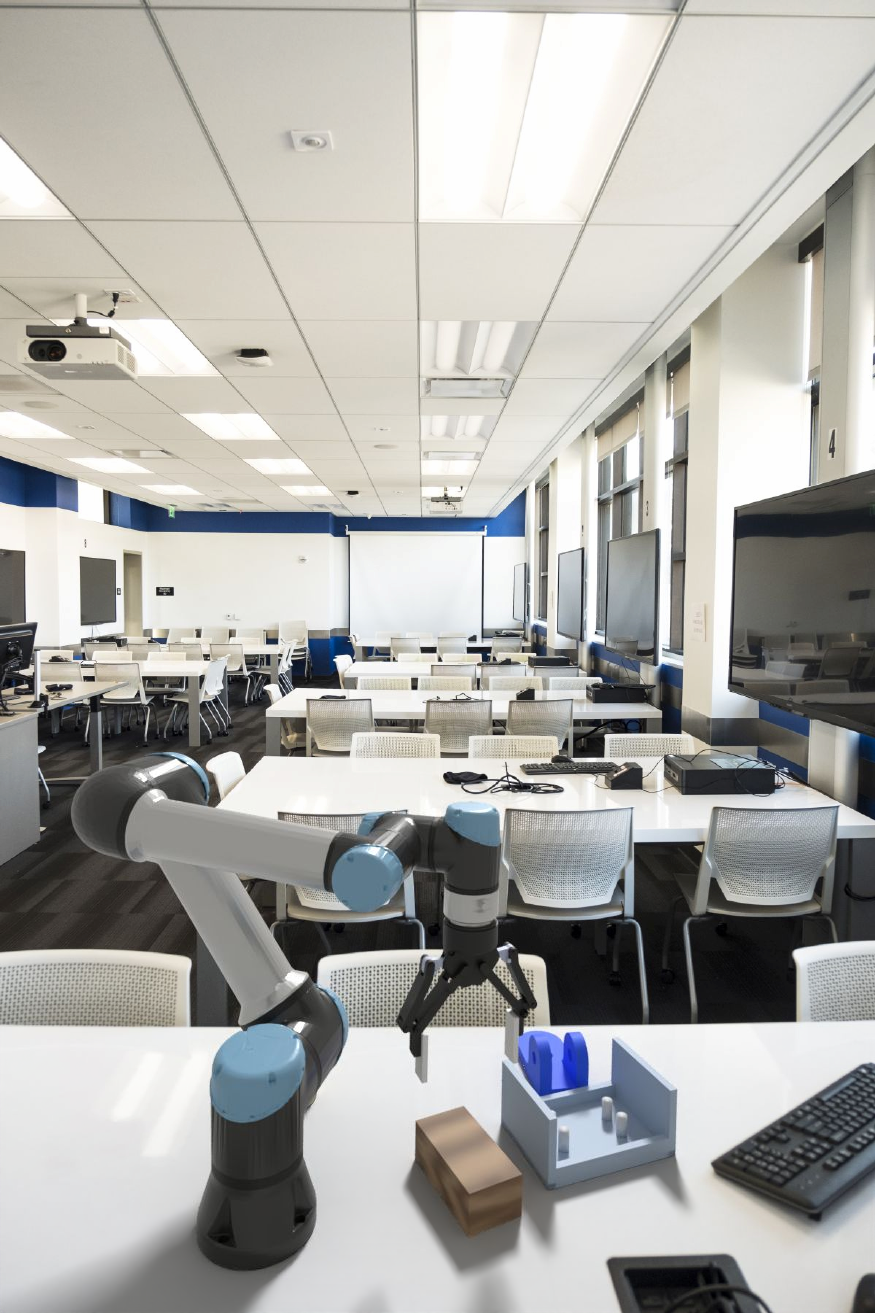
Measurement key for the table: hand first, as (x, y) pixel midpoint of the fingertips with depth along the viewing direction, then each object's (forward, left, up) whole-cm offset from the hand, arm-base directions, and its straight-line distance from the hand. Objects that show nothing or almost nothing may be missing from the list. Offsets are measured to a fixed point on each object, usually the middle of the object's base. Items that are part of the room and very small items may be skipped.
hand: (467, 1068), depth 107 cm
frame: (+21, +3, -17) cm, 27 cm away
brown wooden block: (0, 0, -17) cm, 17 cm away
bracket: (+24, +21, -17) cm, 36 cm away
